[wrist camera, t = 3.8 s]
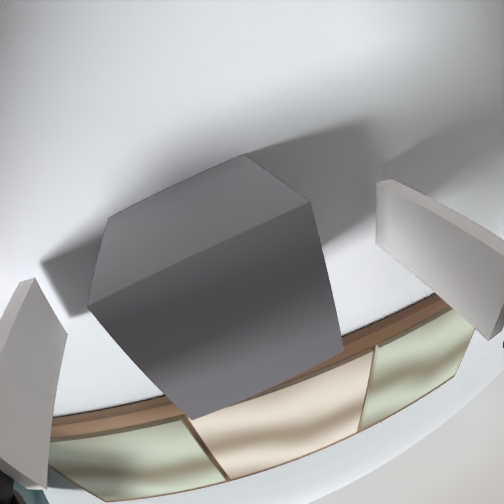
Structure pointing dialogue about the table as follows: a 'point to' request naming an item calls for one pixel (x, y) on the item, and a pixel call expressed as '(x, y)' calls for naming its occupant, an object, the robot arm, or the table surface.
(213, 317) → the gray block
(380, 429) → the table surface
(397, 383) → the board
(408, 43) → the table surface
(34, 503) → the flower pot
